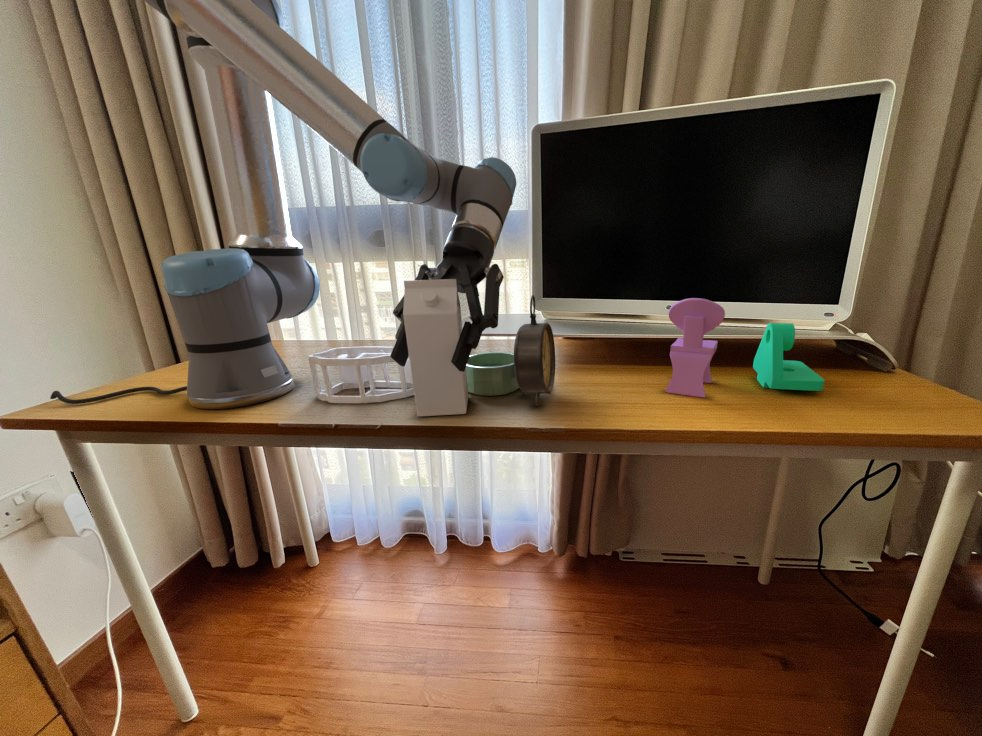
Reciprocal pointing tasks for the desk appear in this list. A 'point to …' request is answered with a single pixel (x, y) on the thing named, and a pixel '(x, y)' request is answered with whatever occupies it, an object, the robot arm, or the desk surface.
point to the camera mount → (782, 362)
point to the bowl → (491, 374)
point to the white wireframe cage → (360, 374)
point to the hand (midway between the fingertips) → (426, 364)
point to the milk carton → (434, 346)
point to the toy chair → (693, 345)
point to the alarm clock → (534, 357)
